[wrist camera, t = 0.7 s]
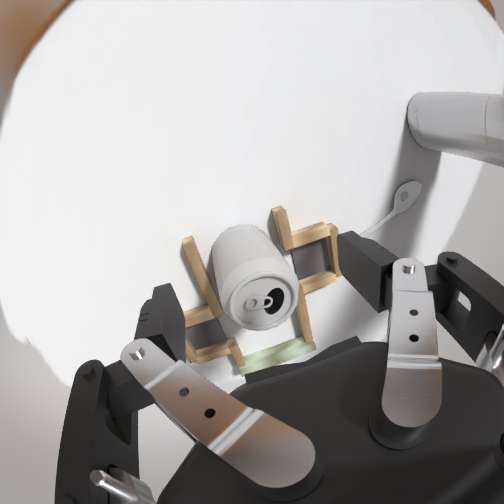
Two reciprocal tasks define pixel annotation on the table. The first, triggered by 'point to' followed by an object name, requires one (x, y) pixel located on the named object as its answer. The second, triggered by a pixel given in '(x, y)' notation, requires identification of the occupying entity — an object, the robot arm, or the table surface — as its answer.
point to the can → (253, 278)
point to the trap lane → (309, 278)
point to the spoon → (398, 204)
